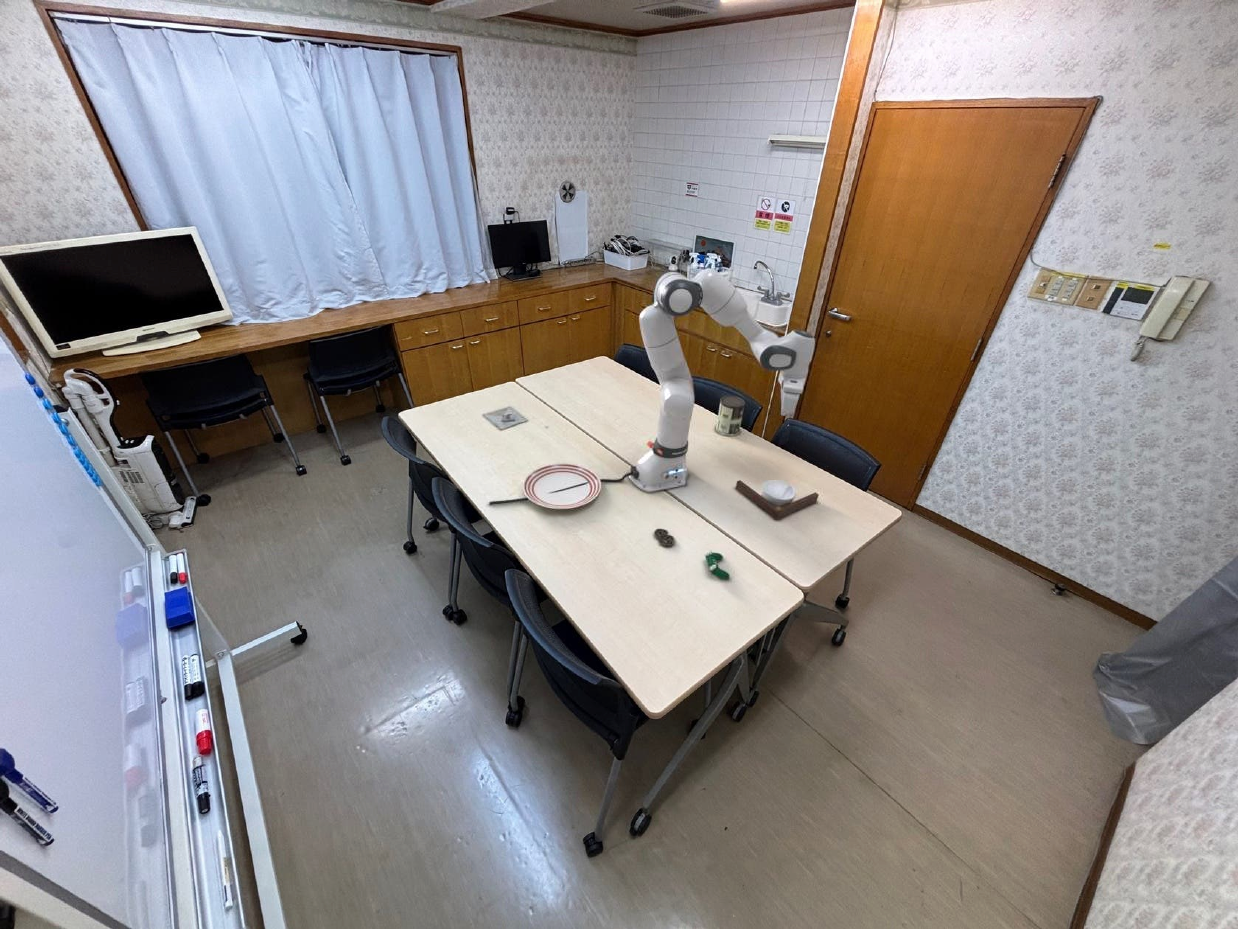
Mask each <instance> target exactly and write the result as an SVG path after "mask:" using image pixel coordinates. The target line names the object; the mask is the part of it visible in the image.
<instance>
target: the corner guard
mask: <svg viewBox="0 0 1238 929" xmlns="http://www.w3.org/2000/svg"><path fill="white" fill-rule="evenodd" d="M735 490H736V491H737V492H739V493H740V495H743V496H744V497H745V498H747V500H749V501H751V503H752V504H754V505H756V506H757V507H758V508H760V509H761V510H762V511H763V512H765V514H767V515H768V516H770V517H771V518H773V519H774V520H775V521H778V520H780V519H782V518H784V517H786V516H789V515H791V514H793V513H796V512H797V511H800V510H803V509H804V508H806V507H809V506H811V505H814V504H815V503H817V502H818V498H819V495H820V494H818V493H817V492H812V493H810V494H808V495H806V496H804V497H802V498H799V499H796V500H794V501H792V502H791V503H790V504H787V505H785V506H783V507H779V506H778V507H776V506H774V505H773V504H772V503H770V502H769V501H768V500H766V499H765V498H763V497H762V495H761V494H759V493H758V492H757V491H755V490H754V489H753V488H752V487H750V486H749V485H747V484H746V483H745V482H744V481H742V480H741V479H739V480H737V481H736V484H735Z"/></svg>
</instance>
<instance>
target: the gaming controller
mask: <svg viewBox="0 0 1238 929" xmlns="http://www.w3.org/2000/svg"><path fill="white" fill-rule="evenodd" d="M704 557H705V560H706V563H707V566H708V569H709V570H708V571H709V572H710V573H711V574H712V575H713V576H715V577H717V578H721V579H727V580H728V579H729V578H730V573H728V572H727V571H725V570H724V569H722V568H720V567H719V564H718V562H720V561H722V560H723V559H724V556H723V554H722V553H720V552H712V550H709V551H707V552H705V553H704Z"/></svg>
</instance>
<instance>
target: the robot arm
mask: <svg viewBox="0 0 1238 929" xmlns="http://www.w3.org/2000/svg"><path fill="white" fill-rule="evenodd" d="M651 302H652V304H650V305H648V306H646V307H645V308H644V309H643V310H642V311H641V312H640V314H639V316H638V322H639V329H640V334H641V338H642V343H643V345H644V348H645V351H646V354H647V356H648V360H649V363H650V366H651V368H652V370H653V371H654V373H655V375H656V378H657V380H658V382H659V385H660V405H659V406H660V407H659V413H658V414H659V417H658V423H657V436H656V438H655V439H654V442H652V440H648V441H647V443H646V446H647V447H649V448H650V450H648V452H645V454H644V455H642V456H641V457H640V458H639V459H638V460H637V462H636V463H635V464H636V465H635V466H630V470H629V472H627V473H625V474H623V475H622V477H621V478H618V479H609V478H599V479H600V481H601V483H620V482H623V481H624V480H625V479H626V478H627V477H628V478H629V480H630V481H631V482H632V484H633V485H635V486H636V487H637V488H638V489H640V490H641V491H644V492H646V493H653V492H659V491H664V490H669V489H674V488H679V487H684V486H685V485H686V480H687V478H688V474H689V473H688V468H687V453H688V451H689V450H688V449H689V440H688V439H689V432H690V425H691V421H692V416H693V413H694V412H693V411H694V406H695V389H694V380H693V377H692V374H691V371H690V369H689V366H688V363H687V360H686V358H685V355H684V351H683V349H682V345H681V342H680V339H679V338H680V337H679V334H678V332H677V328H676V325H675V317H677V318H678V317H679V318H680V317H684V316H686V315H688V314H690V313H691V312H692V311H694V310H696V309H697V308H699V307H700V308H702V309H703V311H705V313H707V315H708V316H709V317H710V318H711V319H713V321H715V322H716V323H717V324H719V325H721V326H723V327H727V328H728V327H734V329H736V330H737V331H738V333H740V335H742V336H743V337H744V339H746V341H747V342H748V347H749V349H750V351H751V353H752V354H753V355H754V356H755V358H756V360H757V361H758V363H759V365H760V366H761V367H762V368H763V369H764V370H766V371H767V372H768V371H769V372H779V374H778V378H777V381H778V383H779V384H780V406H781V407H780V415H781V416H782V417H783V416H784V417H785V416H786V415H793V413H794V412H795V410H796V407H797V404H798V401H799V399H800V395H802V394H803V392H804V386H805V384H806V380H807V378H808V373H809V365H810V363H811V362H812V359H813V355H814V352H815V346H816V338H815V337H814V336H813V335H812V334H811V333H810V332H808V331H806V330H803V329H799V328H796V329H793V330H791V332H789V333H787V334H786V335H783V336H781V337H779V335H778V333H776V331H774V330H772V329H770V328H768V327H764V326H762V325H761V324H760V322H758V321H757V320H756V319H755V318H754V316H753V315H752V314H750V312H749V311H748V304H747V302H746V300H745V298H744V297H743V295H742V294H741V292H740V291H739V290H738V289H737V288H736V287H735V286H734V285H733V283H732V282H730V281H729V280H728V279H727V278H726V277H725V276H724V275H723V274H722V273H720V272H718V271H717V270H715V269H714V268H711V267H709V268H705V269H702V270H700V271H699V272H697V274H696V275H695V276H693V277H690V278H688V277H686V276H685V275H684V274H682V273H681V272H679V271H676V270H667V271H664V272H662V273H661V274H660V275H659V276H658V277H657V279H656V280H655V282H654V287H653V292H652V298H651ZM587 483H589V482H586V483H582V484H579V485H575V486H571V487H568V488H565V489H561V490H557V491H554V492H550V493H555V492H559V491H564V490H567V489H571V488H574V487H578V486H582V485H585V484H587ZM547 494H548V493H547ZM525 501H530V500H529V499H528V498H527V497H521V498H514V499H505V500H492V501H489V505H499V504H511V503H519V502H525Z"/></svg>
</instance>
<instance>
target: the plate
mask: <svg viewBox="0 0 1238 929" xmlns="http://www.w3.org/2000/svg"><path fill="white" fill-rule="evenodd" d="M600 479H601V478H600V477H599V476H598V475H597V474H596V473H595V472H594V471H593V470H591V469H590V468H587V467H585V466H583V465H579V464H575V463H569V462H558V463H557V462H555V463H550V464H546V465H543V466H542V465H541V466H540V467H537V468H535V469H533V470H532V471H530V472H529V473H528V474H527V475H526V476H525V477H524V479H523V481H522V485H521V486H522V491H523V494H524V496H525V498H528V499H529V500H528V501H530V502H532V503H533V504H535V505H537V506H540V507H542V508H548V509H553V510H569V509H574V508H578V507H582V506H585V505H587V504H589V503H591V502H592V501H594V499H596V498H597V497H598V496H599V494H600V492H601V490H602V482H601V481H600ZM586 482H589V483H587V484H585V485H582V486H578V487H574V488H571V489H567V490H564V491H559V492H555V493H550V492H554V491H557V490H561V489H565V488H568V487H571V486H575V485H579V484H582V483H586ZM547 493H548V494H547Z"/></svg>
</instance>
